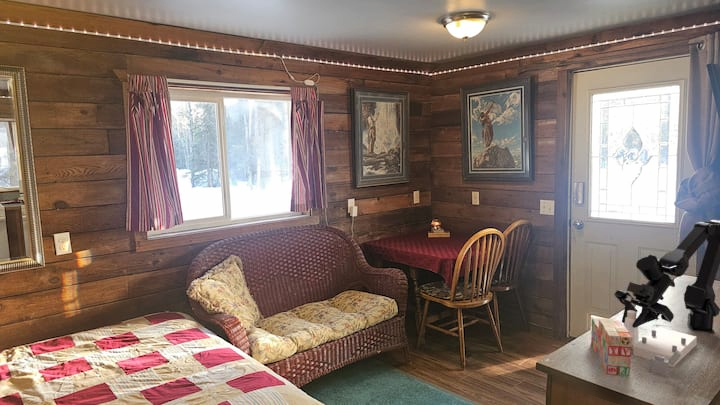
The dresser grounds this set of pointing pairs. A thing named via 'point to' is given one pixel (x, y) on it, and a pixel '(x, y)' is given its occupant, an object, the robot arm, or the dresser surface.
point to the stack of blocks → (612, 345)
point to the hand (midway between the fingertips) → (627, 324)
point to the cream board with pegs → (664, 344)
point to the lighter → (663, 363)
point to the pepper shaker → (628, 324)
